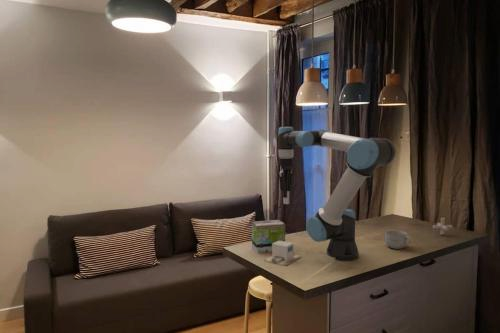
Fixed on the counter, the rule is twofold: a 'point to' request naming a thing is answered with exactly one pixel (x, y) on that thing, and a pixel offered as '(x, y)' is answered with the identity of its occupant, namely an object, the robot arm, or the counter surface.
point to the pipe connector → (442, 226)
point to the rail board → (282, 260)
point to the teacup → (396, 239)
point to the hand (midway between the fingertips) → (286, 203)
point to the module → (282, 250)
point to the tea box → (267, 234)
